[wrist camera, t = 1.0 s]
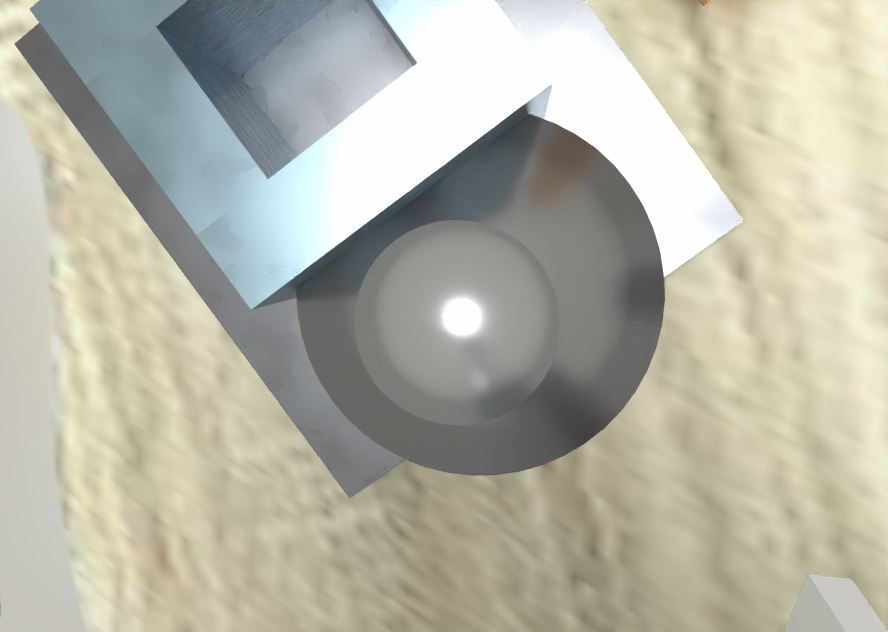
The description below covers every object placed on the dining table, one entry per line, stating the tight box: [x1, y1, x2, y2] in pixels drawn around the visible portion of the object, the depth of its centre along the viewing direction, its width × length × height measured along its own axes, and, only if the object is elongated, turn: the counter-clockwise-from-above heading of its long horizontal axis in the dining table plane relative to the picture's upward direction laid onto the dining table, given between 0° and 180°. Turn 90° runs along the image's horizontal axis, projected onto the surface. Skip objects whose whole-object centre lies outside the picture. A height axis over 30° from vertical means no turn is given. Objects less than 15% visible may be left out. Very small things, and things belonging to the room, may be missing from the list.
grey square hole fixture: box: [15, 0, 744, 498], centre depth 27 cm, size 26×20×16 cm
